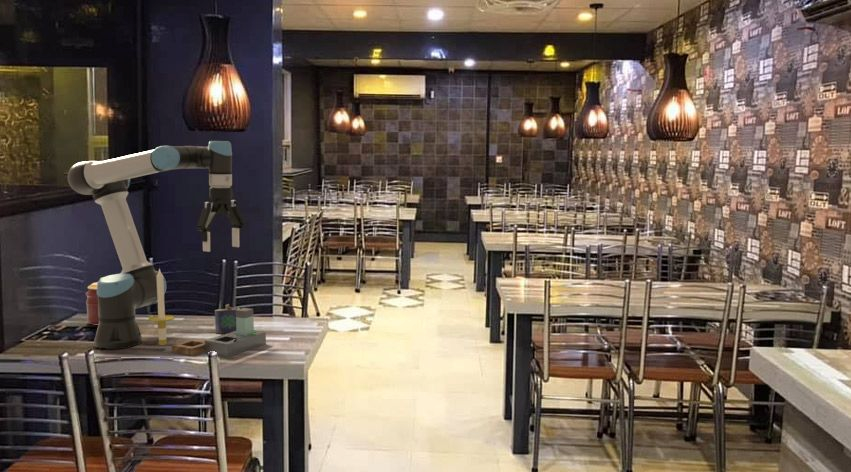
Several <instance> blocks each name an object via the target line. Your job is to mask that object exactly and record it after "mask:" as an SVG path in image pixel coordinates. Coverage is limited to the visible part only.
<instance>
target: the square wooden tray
mask: <svg viewBox="0 0 851 472" xmlns="http://www.w3.org/2000/svg"><path fill="white" fill-rule="evenodd" d="M171 352H172V353H174V354H175V353H176V354H181V355H187V356H193V357H194V356H195V355H198V354H199V355H200V354H202V353H205V342H204V340H201V339H194V338H192V339H191V338H190V339H188V340H185V341H182V342H179V343H175V344H172V345H171Z"/></svg>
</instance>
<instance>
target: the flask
mask: <svg viewBox="0 0 851 472" xmlns="http://www.w3.org/2000/svg"><path fill="white" fill-rule="evenodd" d="M238 309H241V308H239V307H238V308H237V307H231V306H230V304H229V303H228V304H225V308H222V309H220V308H219V309H215V310H214V322H215V323H214V327H215V330H214V332H215V334H216V335H219V336H221V335H224V334H227V333H231V332H234V331H236V310H238Z"/></svg>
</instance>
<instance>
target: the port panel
mask: <svg viewBox="0 0 851 472" xmlns="http://www.w3.org/2000/svg"><path fill="white" fill-rule="evenodd" d="M266 334H267V332H266V331H261V330H255V329H254V333H252V334H250V335H247V336H243V335H237V333H236V331H234V332H231V333H227V334H222V335H218V336H215V337H211V338H208V339H205V340H203V341H204V342H205V352H204V354H208V352H210V351H215V352H217V354H218V355H219V357H224V358H230V357H234V356H236V355H238V354H241V353H245V352H248V351H251V350H254V349H256V348H259V347H262V346H265V345H267V336H266ZM208 355H209V354H208ZM218 355H217V356H218Z"/></svg>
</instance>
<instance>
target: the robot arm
mask: <svg viewBox="0 0 851 472" xmlns="http://www.w3.org/2000/svg"><path fill="white" fill-rule="evenodd" d="M232 150H233V149H232V143H231V142H230V141H228V140H209V142H208V146H203V145H202V146H198V145H181V146H180V145H177V146H176V145H174V146H173V145H160V146H157V147H155V149H150V150H146V151H142V152H138V153H133V154H128V155H124V156H120V157H116V158H111V159H106V160H99V161H98V160H88V161H86V160H85V161H79V162H77V163H75V164H73V165H72V166H71V167H70V168H69V171H68V172H67V182H68V184H69V186H70V188H71V189H72V190H73V191H75V192H76V193H78V194H80V195H84V196H85V195H86V196H87V195H88V196H91V195H92V198H93V200H94V203H95V204H98V205H100V206H101V209H102V212H103V215H104V219H105V221H106V225H107V226H108V230H109V234H110V236H111V239H112V241H113V244H114V247H115V251H116V253H117V255H118V256H117V257H118V259H119V262H120V265H121V268H122V270H121V272H120V273H115V274H111V275H110V274H109V275H106V276H103V278H102V277H100V278H101V279H100V278H99V280H98V281H97V282H98V283H97V300H98V316H99V325H98V326H97V329H96V333H95V337H94V340H93V342H94V343H93V344H94V345H95V346H94V347H95V348H97V347H99V348H98V349H101V348H106V349H105V350H116V349H118V348H119V349H125V347H127V348H132V347H135V346H137V345H139V344H141V343H142V342H143V336H142V333H141V330H140V328H139V325H138V323H137V320H136V309H140V308H142V307H147V306H151V305H154V304H155V303H158V300H157V277H156V275H157V274H158V272H159V270H158V271H157V270H155V265H154V264H153V263H151V262H149V261H148V260H147V257H146V254H145V251H144V248H143V245H142V242H141V239H140V236H139V234H138V231H137V228H136V225H135V223H134V219H133V215H132V213H131V210H130V207H129V204H128V202H127V198H128V195H129V190H128V188H129V187H130V183H131V179H135V178H139V177H143V176H148V175H153V174H156V173H161V172H162V173H163V172H168V171H171V170H183V169H184V170H186V169H188V170H189V169H207V170H208V178H209V179H208V185H209V186H210V187H209V190H208V191H209V197H208V198H209V199H210V201H204V202H203V204H202V210H201V213H200V216H199V219H198V222H197V225H196V228H195V229H196V231H198V232H200V234H201V238H200V239H201V242H202V252H207V253H209V252H211V232H210V229H211V226H212V225H213V223H214V221H215V220H216V218H217V217H218V216H219V215H225V216H226V218H227V219H228V220H229V222H230V224H231V225H232V226H233V227H232V228H231V246H232V248H240V237H241V229H243V227H244V226H245V225H246V223H245V220H244V218H243V216H242V212H241V210H240V208H239V201H238V200H237V199H232V198H233V188H232V186H233V171H232V169H233V168H232V167H233V166H232V165H233V151H232ZM163 284H164V295H165V293H166V291H167V281H166V278H165V277H164V275H163ZM119 349H118V350H119Z"/></svg>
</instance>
